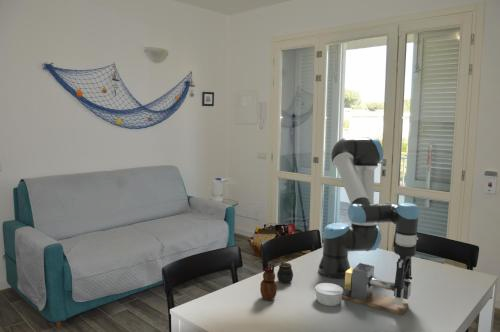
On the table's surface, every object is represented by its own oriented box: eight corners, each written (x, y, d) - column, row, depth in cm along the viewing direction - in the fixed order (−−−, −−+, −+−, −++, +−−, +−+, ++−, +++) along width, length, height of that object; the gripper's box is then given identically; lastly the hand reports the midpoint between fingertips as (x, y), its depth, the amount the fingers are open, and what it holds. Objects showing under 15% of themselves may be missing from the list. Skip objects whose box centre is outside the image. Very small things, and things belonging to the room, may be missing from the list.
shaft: (343, 283, 162) (344, 271, 162) (348, 279, 166) (348, 268, 166) (407, 299, 148) (408, 286, 148) (410, 294, 152) (411, 282, 152)
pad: (339, 294, 162) (339, 293, 161) (346, 286, 169) (346, 286, 169) (351, 297, 159) (351, 296, 159) (358, 289, 166) (358, 289, 166)
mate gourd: (285, 286, 171) (285, 264, 170) (273, 281, 177) (273, 259, 176) (296, 282, 176) (296, 260, 175) (284, 277, 182) (284, 256, 181)
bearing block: (351, 297, 159) (352, 269, 157) (358, 289, 166) (359, 263, 165) (365, 301, 155) (367, 272, 154) (372, 293, 163) (374, 266, 161)
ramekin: (326, 309, 151) (326, 296, 150) (308, 298, 161) (309, 285, 160) (348, 304, 156) (349, 291, 155) (330, 292, 166) (331, 281, 165)
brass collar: (344, 288, 161) (345, 272, 160) (350, 282, 167) (351, 267, 166) (350, 290, 160) (351, 273, 159) (356, 284, 165) (357, 268, 165)
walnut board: (336, 296, 162) (336, 294, 162) (345, 288, 170) (345, 285, 170) (402, 315, 147) (402, 312, 147) (408, 305, 156) (408, 302, 155)
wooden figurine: (278, 296, 161) (279, 261, 159) (274, 302, 156) (275, 266, 154) (262, 294, 163) (263, 259, 161) (258, 299, 158) (259, 263, 156)
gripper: (409, 253, 138) (405, 314, 141) (421, 238, 156) (418, 292, 159) (387, 249, 142) (383, 308, 145) (402, 235, 161) (398, 287, 163)
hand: (401, 299), depth 152 cm, fingers open, 10 cm apart
